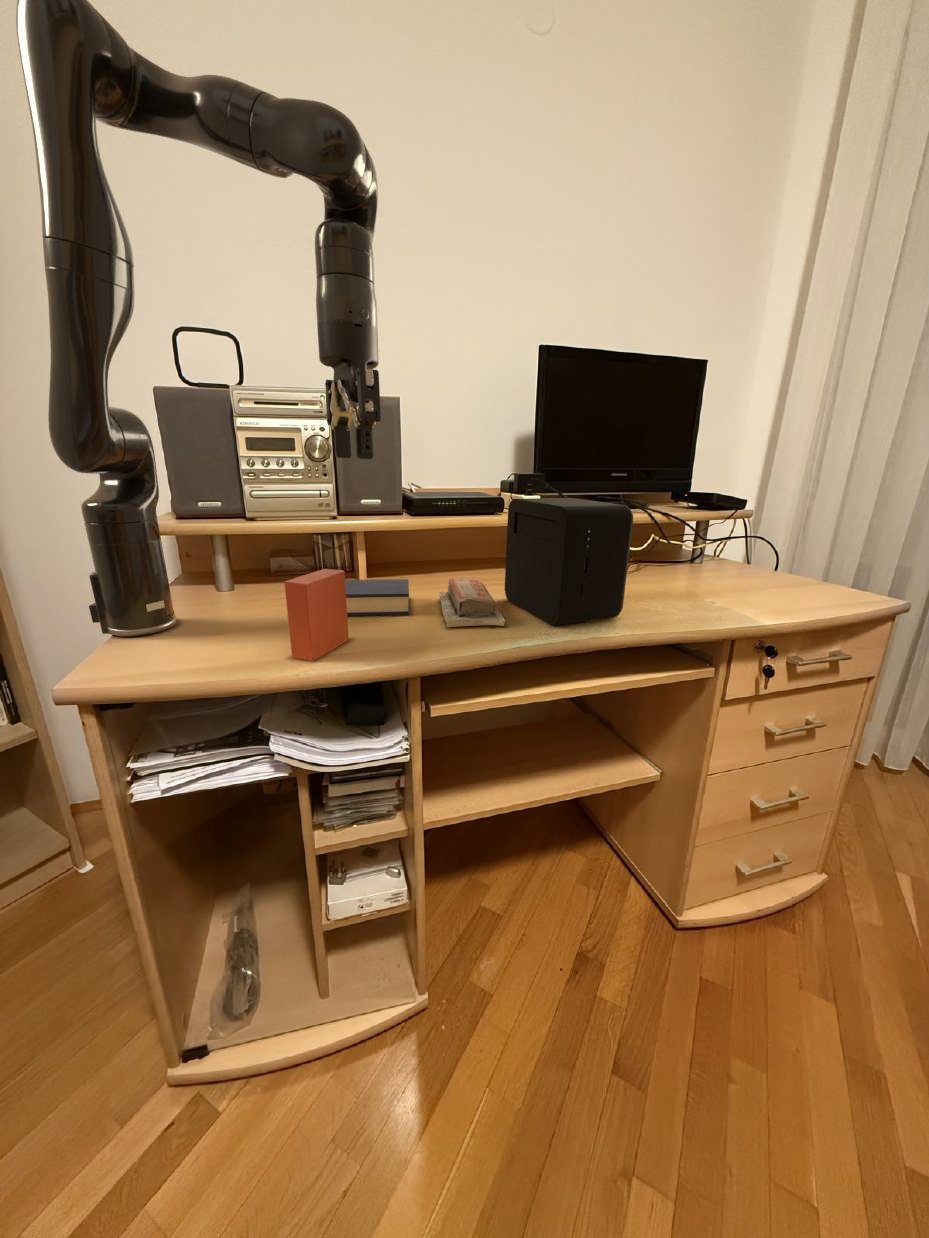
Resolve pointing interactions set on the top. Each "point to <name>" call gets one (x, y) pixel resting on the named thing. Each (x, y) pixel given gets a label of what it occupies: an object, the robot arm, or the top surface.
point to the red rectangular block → (317, 613)
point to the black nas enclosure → (567, 558)
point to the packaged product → (469, 604)
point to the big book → (377, 597)
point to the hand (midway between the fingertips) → (353, 458)
